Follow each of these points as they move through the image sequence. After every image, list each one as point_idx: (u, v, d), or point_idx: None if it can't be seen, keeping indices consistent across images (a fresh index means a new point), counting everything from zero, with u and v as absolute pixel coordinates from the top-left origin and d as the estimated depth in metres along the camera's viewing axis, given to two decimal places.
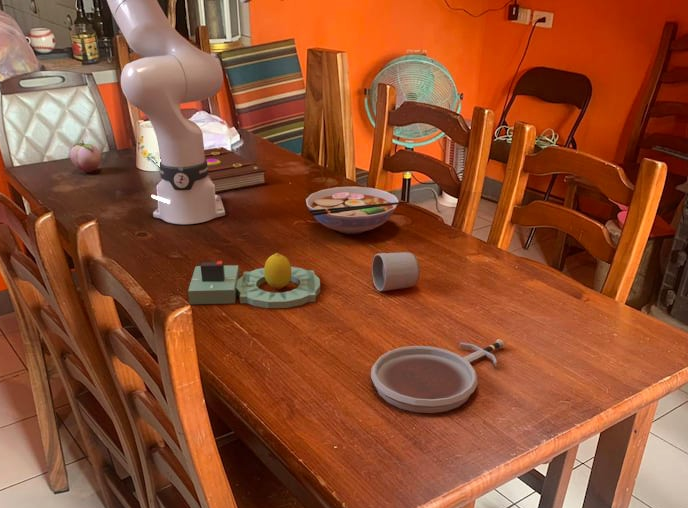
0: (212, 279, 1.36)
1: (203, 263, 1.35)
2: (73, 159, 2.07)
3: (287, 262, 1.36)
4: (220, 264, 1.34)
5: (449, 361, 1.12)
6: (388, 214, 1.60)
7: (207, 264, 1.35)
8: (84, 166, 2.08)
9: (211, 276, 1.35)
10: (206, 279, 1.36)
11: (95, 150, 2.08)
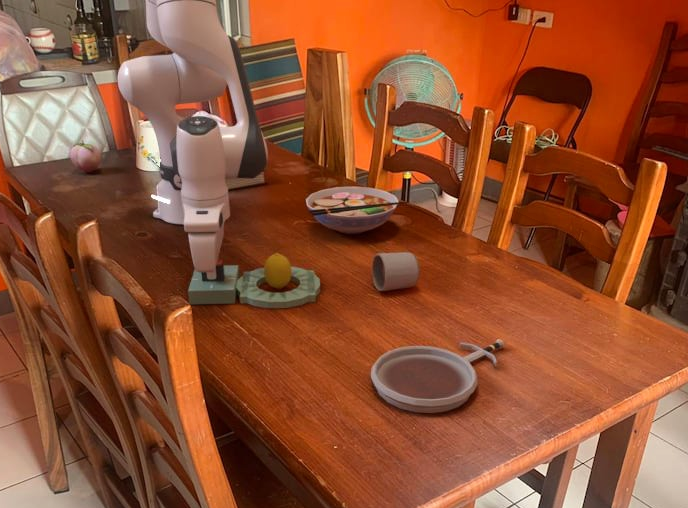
0: (212, 279, 1.36)
1: None
2: (73, 159, 2.07)
3: (287, 262, 1.36)
4: (220, 264, 1.34)
5: (449, 361, 1.12)
6: (388, 214, 1.60)
7: None
8: (84, 166, 2.08)
9: None
10: (206, 279, 1.36)
11: (95, 150, 2.08)
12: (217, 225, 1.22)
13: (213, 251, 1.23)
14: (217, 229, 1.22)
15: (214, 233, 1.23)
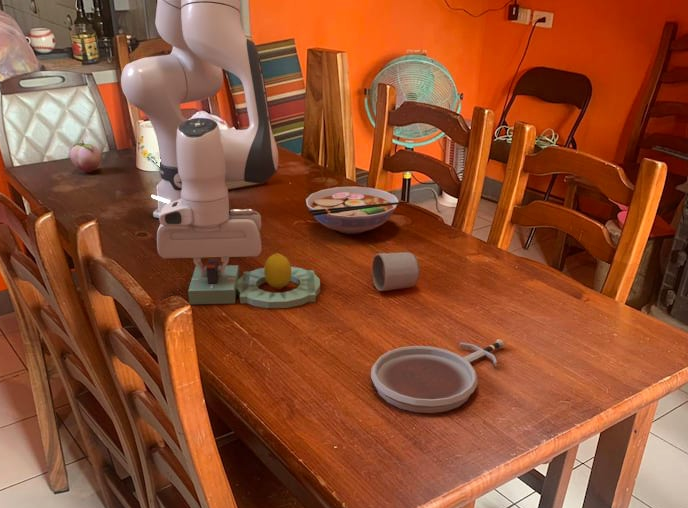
0: None
1: (214, 260, 1.36)
2: (73, 159, 2.07)
3: (287, 262, 1.36)
4: None
5: (449, 361, 1.12)
6: (388, 214, 1.60)
7: (211, 262, 1.36)
8: (84, 166, 2.08)
9: None
10: None
11: (95, 150, 2.08)
12: (159, 217, 1.26)
13: (157, 238, 1.30)
14: (160, 221, 1.27)
15: None
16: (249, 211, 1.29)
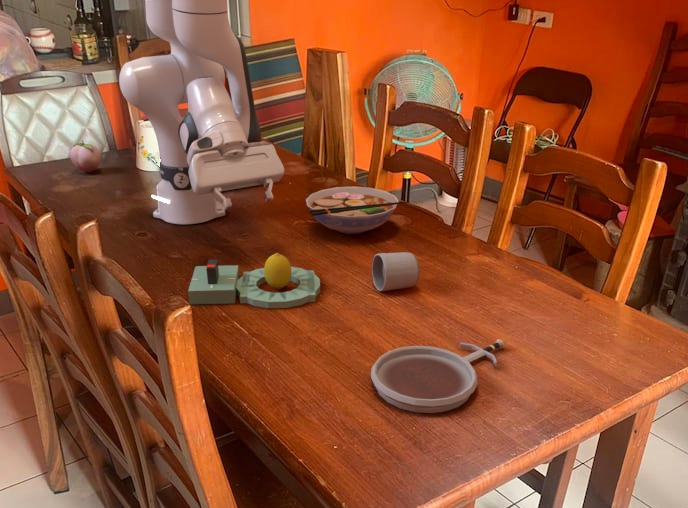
0: None
1: (214, 260, 1.36)
2: (73, 159, 2.07)
3: (287, 262, 1.36)
4: None
5: (449, 361, 1.12)
6: (388, 214, 1.60)
7: (211, 262, 1.36)
8: (84, 166, 2.08)
9: None
10: None
11: (95, 150, 2.08)
12: (192, 145, 1.37)
13: (192, 168, 1.36)
14: (193, 149, 1.37)
15: (195, 154, 1.37)
16: (263, 141, 1.46)
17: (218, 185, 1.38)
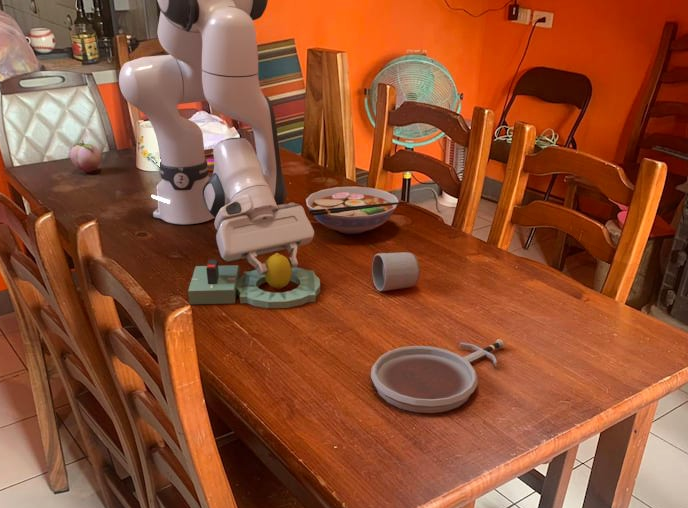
0: None
1: (214, 260, 1.36)
2: (73, 159, 2.07)
3: (287, 262, 1.36)
4: None
5: (449, 361, 1.12)
6: (388, 214, 1.60)
7: (211, 262, 1.36)
8: (84, 166, 2.08)
9: None
10: None
11: (95, 150, 2.08)
12: (220, 211, 1.32)
13: (221, 235, 1.32)
14: (221, 215, 1.32)
15: (224, 220, 1.33)
16: (292, 203, 1.42)
17: (247, 252, 1.34)
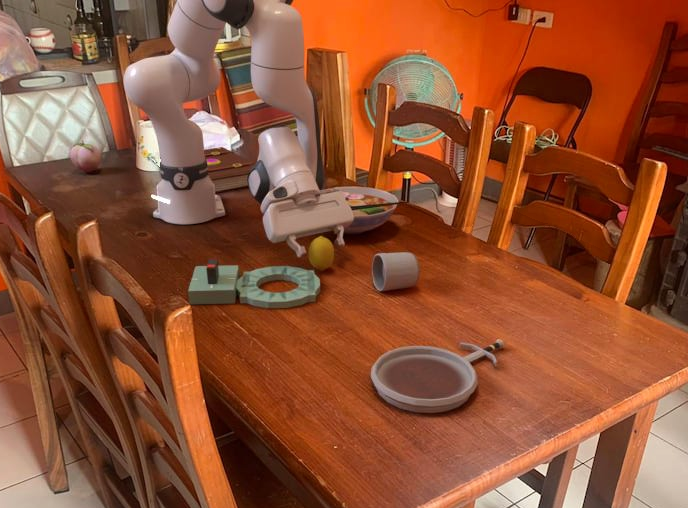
0: None
1: (214, 260, 1.36)
2: (73, 159, 2.07)
3: (331, 244, 1.44)
4: None
5: (449, 361, 1.12)
6: (388, 214, 1.60)
7: (211, 262, 1.36)
8: (84, 166, 2.08)
9: None
10: None
11: (95, 150, 2.08)
12: (268, 195, 1.40)
13: (269, 218, 1.40)
14: (269, 198, 1.40)
15: (271, 203, 1.41)
16: (332, 188, 1.50)
17: (293, 233, 1.42)
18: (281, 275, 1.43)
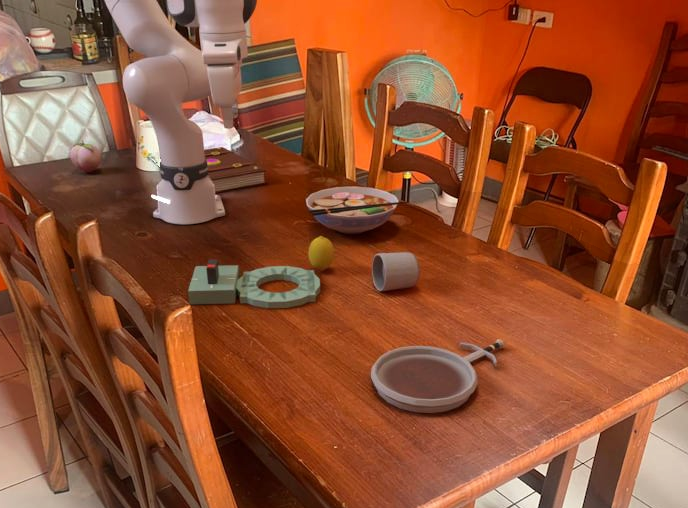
0: None
1: (214, 260, 1.36)
2: (73, 159, 2.07)
3: (331, 244, 1.44)
4: None
5: (449, 361, 1.12)
6: (388, 214, 1.60)
7: (211, 262, 1.36)
8: (84, 166, 2.08)
9: None
10: None
11: (95, 150, 2.08)
12: (235, 55, 1.23)
13: (231, 83, 1.24)
14: (235, 60, 1.23)
15: (232, 65, 1.24)
16: None
17: None
18: (281, 275, 1.43)
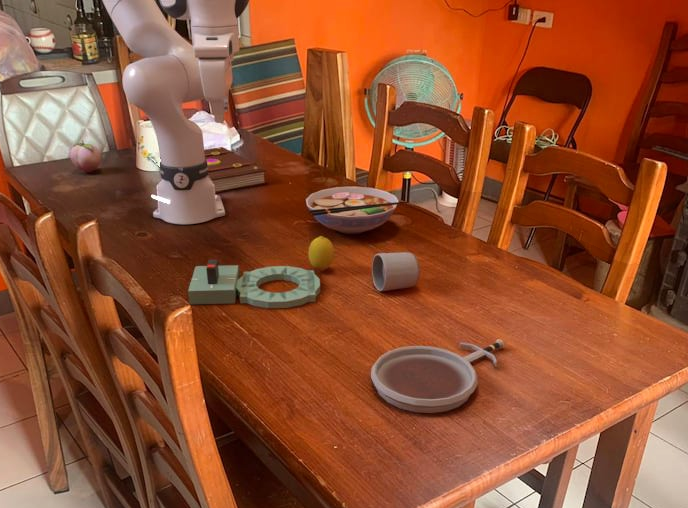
0: None
1: (214, 260, 1.36)
2: (73, 159, 2.07)
3: (331, 244, 1.44)
4: None
5: (449, 361, 1.12)
6: (388, 214, 1.60)
7: (211, 262, 1.36)
8: (84, 166, 2.08)
9: None
10: None
11: (95, 150, 2.08)
12: (227, 49, 1.22)
13: (223, 77, 1.24)
14: (227, 54, 1.23)
15: (224, 59, 1.23)
16: None
17: None
18: (281, 275, 1.43)
